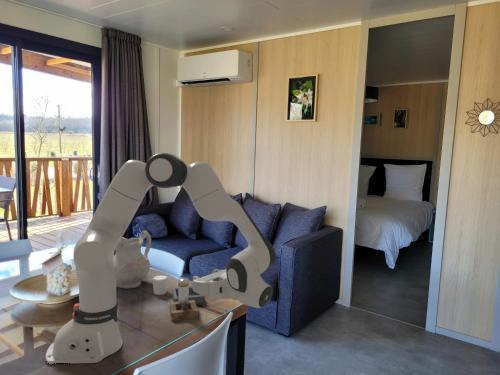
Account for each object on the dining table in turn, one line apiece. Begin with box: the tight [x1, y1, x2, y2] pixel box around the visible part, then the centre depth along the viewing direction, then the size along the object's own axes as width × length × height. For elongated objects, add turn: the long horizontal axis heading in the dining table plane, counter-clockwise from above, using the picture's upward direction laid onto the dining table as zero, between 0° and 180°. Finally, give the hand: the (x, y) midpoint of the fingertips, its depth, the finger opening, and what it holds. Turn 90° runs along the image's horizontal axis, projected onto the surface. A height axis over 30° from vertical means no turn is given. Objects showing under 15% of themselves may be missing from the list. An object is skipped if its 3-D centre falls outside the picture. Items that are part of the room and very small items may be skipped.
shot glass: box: [151, 274, 169, 296], centre depth 167 cm, size 7×7×7 cm
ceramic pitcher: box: [114, 229, 152, 290], centre depth 176 cm, size 22×20×25 cm
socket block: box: [169, 300, 199, 322], centre depth 146 cm, size 10×10×3 cm
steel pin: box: [177, 277, 190, 310], centre depth 146 cm, size 4×4×14 cm
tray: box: [171, 285, 205, 306], centre depth 159 cm, size 12×12×4 cm
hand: (204, 274), depth 136 cm, fingers open, 8 cm apart
